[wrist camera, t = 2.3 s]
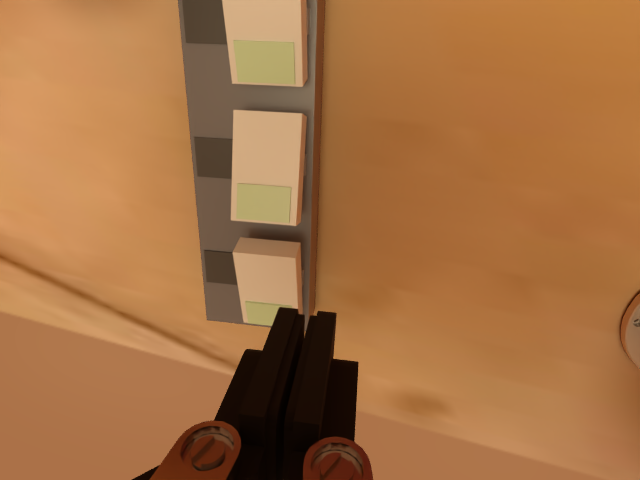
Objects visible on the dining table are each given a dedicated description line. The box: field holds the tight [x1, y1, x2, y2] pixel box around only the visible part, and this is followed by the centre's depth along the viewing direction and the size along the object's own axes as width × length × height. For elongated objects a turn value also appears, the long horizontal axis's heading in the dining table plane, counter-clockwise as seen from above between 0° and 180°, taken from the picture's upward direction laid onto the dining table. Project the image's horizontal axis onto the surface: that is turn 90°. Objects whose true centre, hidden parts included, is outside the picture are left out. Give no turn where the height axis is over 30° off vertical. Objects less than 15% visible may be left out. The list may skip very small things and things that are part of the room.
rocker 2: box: [233, 237, 303, 326], centre depth 35 cm, size 5×8×2 cm, turn 178°
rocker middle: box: [231, 110, 307, 226], centre depth 31 cm, size 5×8×2 cm, turn 178°
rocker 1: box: [222, 0, 308, 87], centre depth 27 cm, size 5×8×2 cm, turn 178°
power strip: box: [178, 0, 325, 331], centre depth 33 cm, size 10×40×5 cm, turn 178°
